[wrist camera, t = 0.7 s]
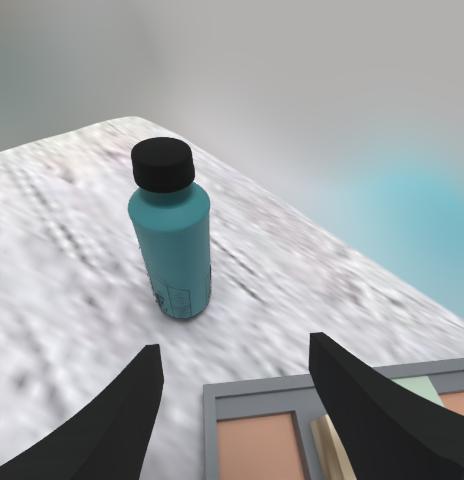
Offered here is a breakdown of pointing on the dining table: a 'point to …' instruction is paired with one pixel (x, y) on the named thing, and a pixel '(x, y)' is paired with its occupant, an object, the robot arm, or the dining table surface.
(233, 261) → the dining table surface
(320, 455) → the maple block
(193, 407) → the dining table surface
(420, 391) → the box
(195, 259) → the beverage bottle
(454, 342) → the dining table surface
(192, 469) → the dining table surface
